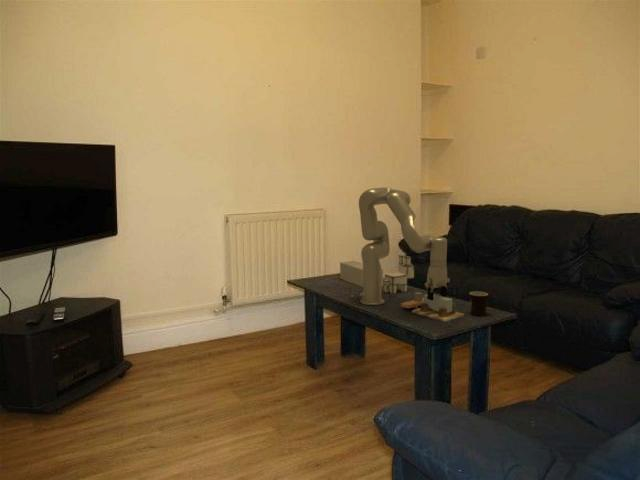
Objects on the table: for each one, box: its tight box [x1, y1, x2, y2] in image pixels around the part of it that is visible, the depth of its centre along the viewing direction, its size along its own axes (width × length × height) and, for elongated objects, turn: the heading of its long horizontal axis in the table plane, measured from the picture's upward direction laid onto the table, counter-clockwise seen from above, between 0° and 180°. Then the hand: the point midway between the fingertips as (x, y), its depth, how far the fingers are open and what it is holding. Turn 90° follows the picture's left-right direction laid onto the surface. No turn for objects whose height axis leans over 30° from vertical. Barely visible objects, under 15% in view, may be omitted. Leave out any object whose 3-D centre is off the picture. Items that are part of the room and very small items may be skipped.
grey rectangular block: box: [339, 260, 384, 288], centre depth 315 cm, size 32×11×11 cm, turn 28°
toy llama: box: [383, 254, 415, 295], centre depth 290 cm, size 8×18×20 cm, turn 119°
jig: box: [411, 303, 465, 323], centre depth 247 cm, size 20×14×4 cm
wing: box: [400, 291, 424, 310], centre depth 260 cm, size 5×20×7 cm, turn 128°
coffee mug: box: [469, 290, 489, 317], centre depth 247 cm, size 12×9×10 cm
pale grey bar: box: [423, 293, 453, 313], centre depth 247 cm, size 14×4×6 cm, turn 39°
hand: (436, 298), depth 247 cm, fingers open, 9 cm apart
